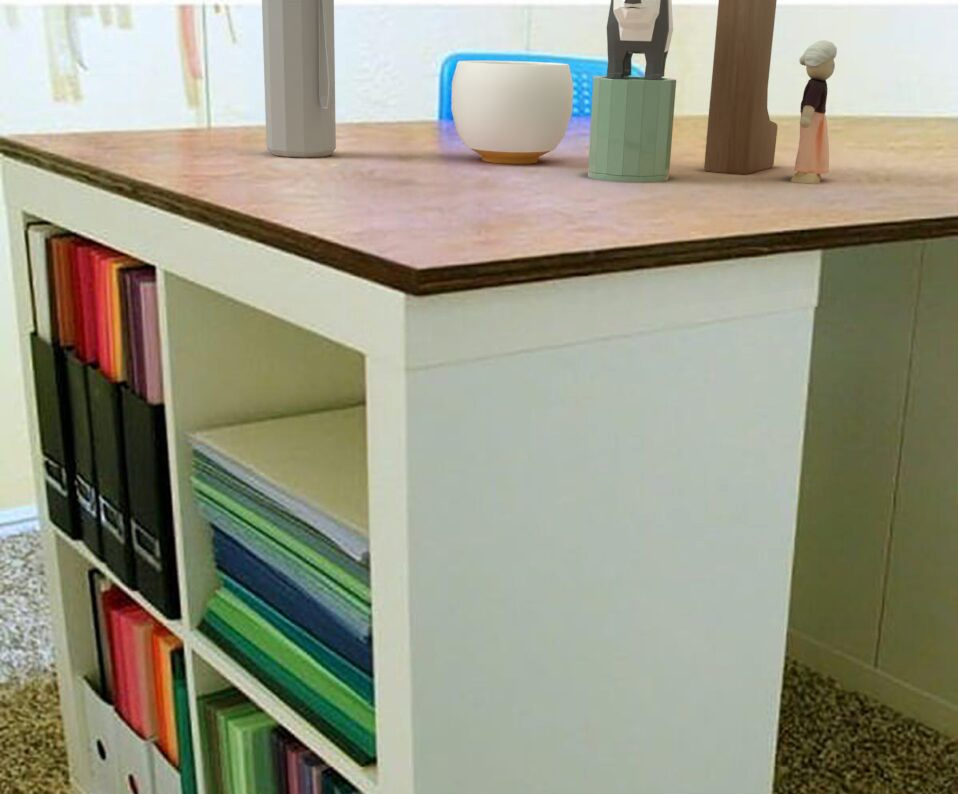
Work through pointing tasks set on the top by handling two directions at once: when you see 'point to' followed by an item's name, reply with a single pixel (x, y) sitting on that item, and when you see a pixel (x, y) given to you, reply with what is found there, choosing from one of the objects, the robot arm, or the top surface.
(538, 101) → the cup
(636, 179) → the green cup
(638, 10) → the giant panda
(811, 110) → the grandmother figurine
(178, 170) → the top surface
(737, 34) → the wooden block
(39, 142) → the top surface
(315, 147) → the water bottle
